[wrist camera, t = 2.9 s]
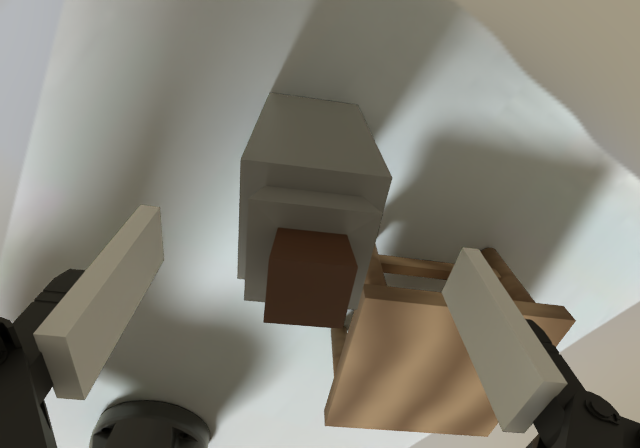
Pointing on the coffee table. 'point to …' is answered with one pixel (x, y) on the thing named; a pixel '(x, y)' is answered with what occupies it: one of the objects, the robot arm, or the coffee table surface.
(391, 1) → the coffee table surface
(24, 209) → the coffee table surface
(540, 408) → the robot arm
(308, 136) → the perfume bottle
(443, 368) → the stool
